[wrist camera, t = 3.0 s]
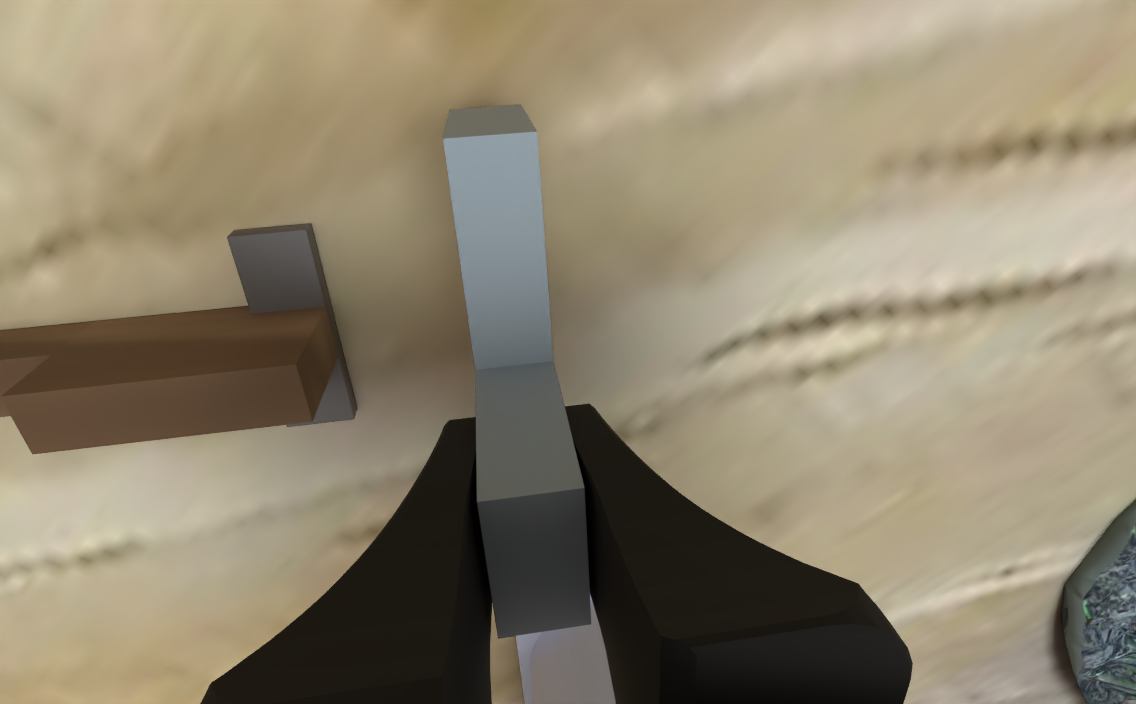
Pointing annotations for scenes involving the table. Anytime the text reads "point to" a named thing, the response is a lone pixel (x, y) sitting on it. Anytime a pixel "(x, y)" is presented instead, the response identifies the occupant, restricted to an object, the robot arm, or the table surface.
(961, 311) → the table surface
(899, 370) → the table surface
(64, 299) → the table surface
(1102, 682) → the tree stump
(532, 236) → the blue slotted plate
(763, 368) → the table surface
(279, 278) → the walnut slotted plate
